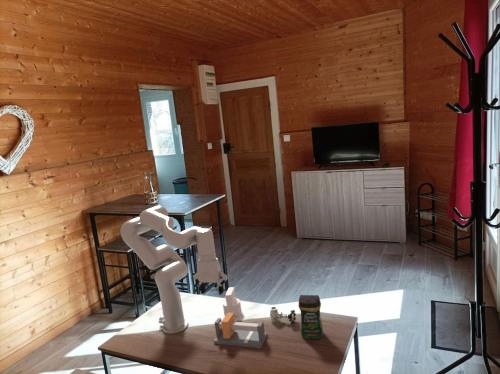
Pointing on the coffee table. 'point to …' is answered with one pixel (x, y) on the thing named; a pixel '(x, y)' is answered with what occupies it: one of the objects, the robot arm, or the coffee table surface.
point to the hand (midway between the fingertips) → (212, 292)
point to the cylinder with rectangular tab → (231, 303)
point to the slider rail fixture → (242, 334)
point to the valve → (281, 315)
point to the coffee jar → (310, 316)
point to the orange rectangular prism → (228, 325)
